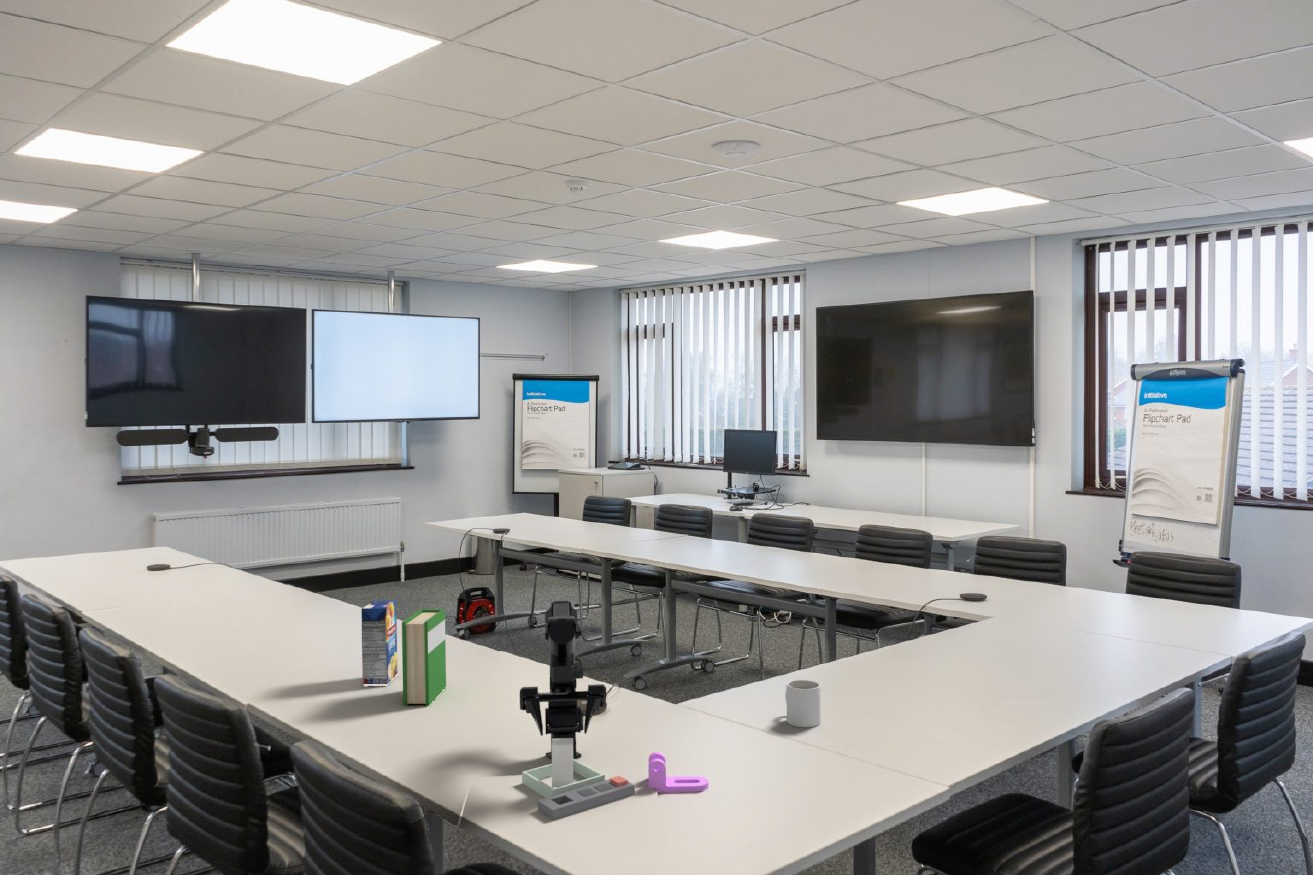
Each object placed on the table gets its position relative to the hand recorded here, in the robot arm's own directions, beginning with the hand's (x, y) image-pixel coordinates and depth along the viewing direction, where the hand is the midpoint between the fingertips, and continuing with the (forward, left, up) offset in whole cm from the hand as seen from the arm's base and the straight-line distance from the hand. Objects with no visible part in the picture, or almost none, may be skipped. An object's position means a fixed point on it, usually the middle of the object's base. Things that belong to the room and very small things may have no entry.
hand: (563, 733), depth 195 cm
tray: (-4, +2, -14) cm, 14 cm away
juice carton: (-113, +3, -14) cm, 114 cm away
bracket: (+11, +22, -14) cm, 28 cm away
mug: (-3, +76, -14) cm, 77 cm away
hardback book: (-88, +7, -14) cm, 89 cm away
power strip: (+7, +1, -14) cm, 15 cm away
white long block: (-1, 0, -13) cm, 13 cm away
